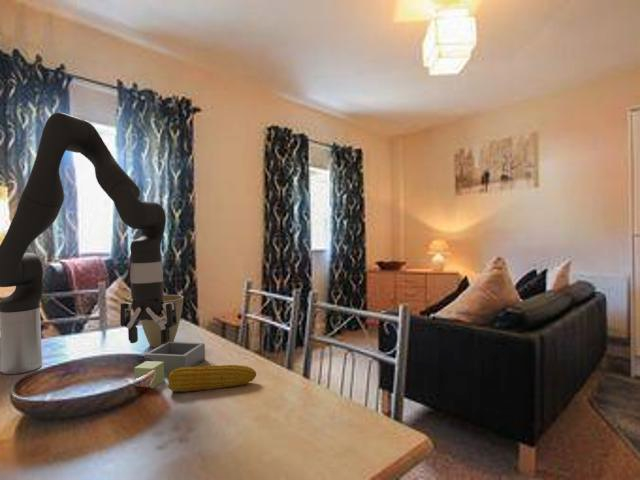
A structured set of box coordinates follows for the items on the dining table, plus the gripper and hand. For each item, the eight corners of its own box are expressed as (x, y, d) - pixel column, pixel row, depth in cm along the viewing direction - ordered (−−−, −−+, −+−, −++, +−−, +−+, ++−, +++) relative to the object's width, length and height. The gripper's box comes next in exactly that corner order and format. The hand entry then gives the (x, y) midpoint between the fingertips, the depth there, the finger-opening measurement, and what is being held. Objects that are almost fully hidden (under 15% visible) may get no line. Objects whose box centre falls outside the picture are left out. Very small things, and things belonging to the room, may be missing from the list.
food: (167, 398, 93) (167, 373, 92) (170, 388, 98) (169, 365, 98) (257, 387, 98) (257, 363, 98) (255, 378, 104) (254, 356, 103)
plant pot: (193, 341, 137) (192, 296, 137) (155, 353, 125) (154, 303, 124) (166, 335, 145) (165, 293, 145) (128, 346, 133) (127, 299, 132)
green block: (134, 387, 99) (134, 367, 99) (146, 379, 104) (146, 360, 104) (153, 388, 98) (152, 368, 98) (164, 380, 103) (163, 361, 103)
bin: (144, 372, 109) (144, 354, 109) (168, 357, 121) (167, 341, 120) (185, 374, 107) (184, 356, 107) (204, 359, 119) (204, 343, 118)
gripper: (111, 282, 97) (114, 346, 98) (164, 281, 95) (167, 348, 96) (130, 278, 105) (133, 338, 105) (180, 277, 102) (182, 339, 103)
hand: (149, 342), depth 100 cm, fingers open, 8 cm apart
